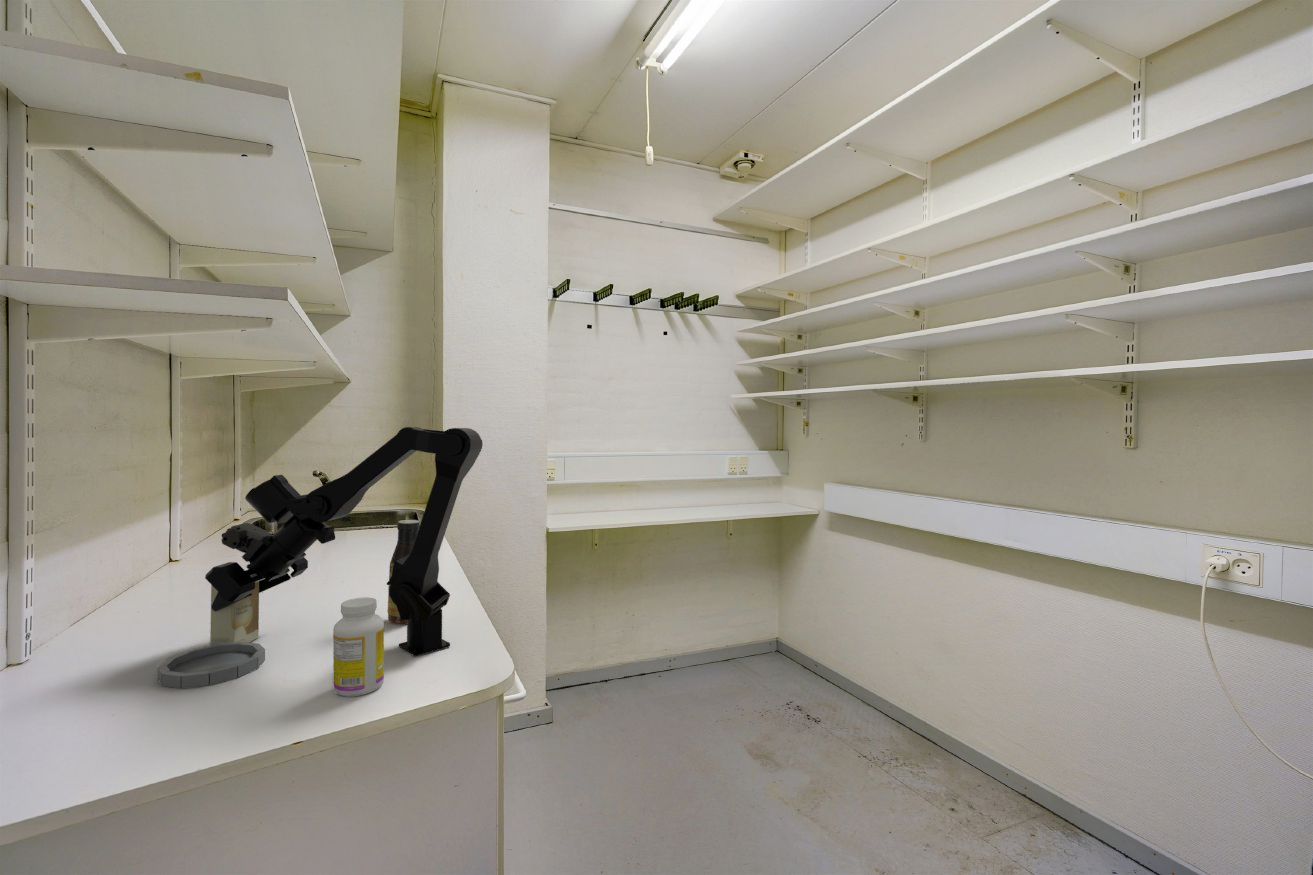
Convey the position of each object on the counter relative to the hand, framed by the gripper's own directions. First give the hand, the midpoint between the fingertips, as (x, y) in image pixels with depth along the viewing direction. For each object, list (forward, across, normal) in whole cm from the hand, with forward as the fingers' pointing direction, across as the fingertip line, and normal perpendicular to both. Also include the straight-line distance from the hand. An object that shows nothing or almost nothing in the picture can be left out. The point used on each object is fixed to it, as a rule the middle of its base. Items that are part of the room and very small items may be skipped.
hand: (227, 603), depth 101 cm
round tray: (+1, +10, +9) cm, 14 cm away
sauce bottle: (-13, -14, +23) cm, 30 cm away
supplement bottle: (-17, +16, +27) cm, 36 cm away
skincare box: (+4, 0, +6) cm, 7 cm away
